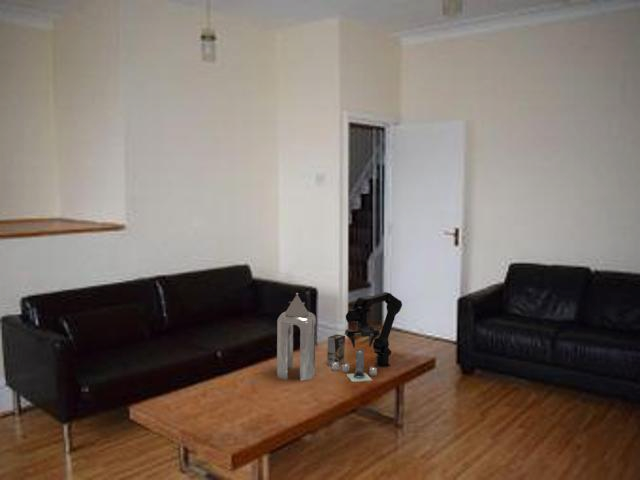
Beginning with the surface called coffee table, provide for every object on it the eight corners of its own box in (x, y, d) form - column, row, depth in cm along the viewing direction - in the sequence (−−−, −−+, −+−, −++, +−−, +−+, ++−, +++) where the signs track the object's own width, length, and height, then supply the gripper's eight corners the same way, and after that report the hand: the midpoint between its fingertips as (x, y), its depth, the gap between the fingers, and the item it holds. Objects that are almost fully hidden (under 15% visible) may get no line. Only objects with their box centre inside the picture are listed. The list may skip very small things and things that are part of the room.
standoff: (360, 374, 315) (361, 348, 313) (366, 377, 310) (368, 351, 308) (351, 375, 312) (352, 350, 310) (358, 379, 307) (359, 353, 305)
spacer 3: (372, 373, 319) (372, 366, 318) (378, 374, 316) (378, 367, 315) (368, 375, 316) (367, 368, 315) (373, 376, 313) (373, 369, 312)
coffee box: (335, 366, 329) (336, 339, 327) (326, 364, 333) (327, 336, 331) (345, 362, 336) (345, 335, 335) (336, 360, 340) (336, 333, 338)
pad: (365, 373, 317) (365, 372, 317) (372, 380, 307) (372, 379, 307) (346, 375, 315) (346, 374, 315) (352, 382, 304) (352, 381, 304)
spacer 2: (348, 369, 324) (348, 362, 323) (350, 372, 320) (350, 365, 320) (341, 370, 323) (341, 363, 323) (343, 372, 319) (343, 365, 319)
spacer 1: (337, 368, 327) (338, 361, 326) (339, 370, 323) (339, 363, 322) (331, 368, 326) (331, 361, 325) (332, 370, 322) (332, 363, 321)
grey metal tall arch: (316, 368, 325) (317, 290, 320) (312, 381, 305) (313, 297, 300) (281, 366, 327) (281, 288, 322) (274, 379, 307) (275, 296, 302)
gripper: (350, 324, 311) (349, 352, 312) (383, 323, 315) (382, 350, 316) (345, 319, 321) (344, 346, 323) (376, 318, 326) (376, 345, 327)
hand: (361, 347), depth 322 cm, fingers open, 9 cm apart
